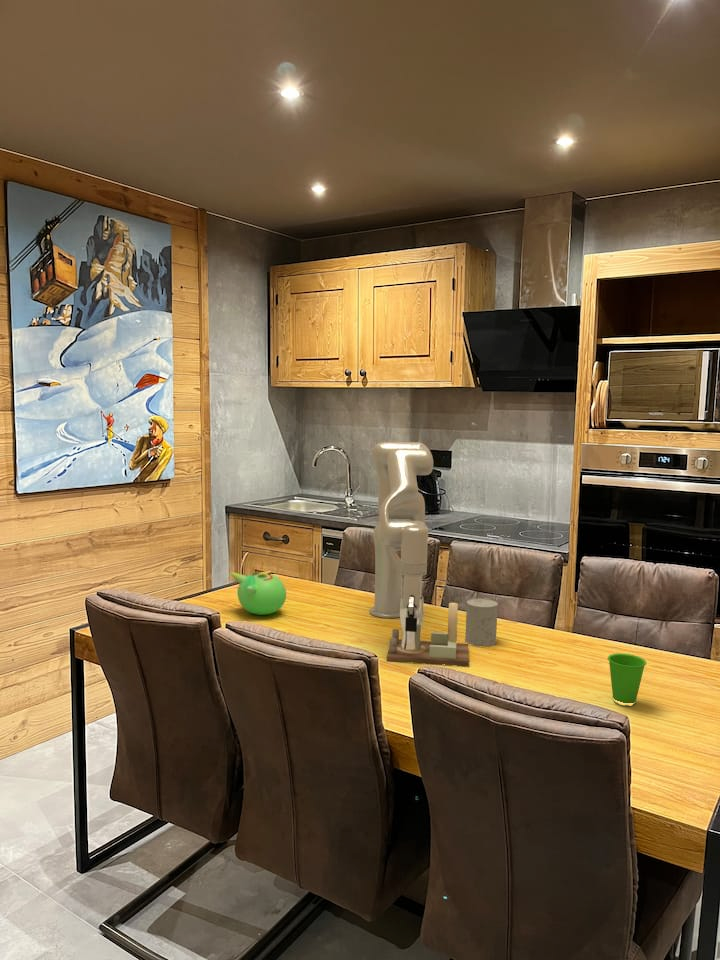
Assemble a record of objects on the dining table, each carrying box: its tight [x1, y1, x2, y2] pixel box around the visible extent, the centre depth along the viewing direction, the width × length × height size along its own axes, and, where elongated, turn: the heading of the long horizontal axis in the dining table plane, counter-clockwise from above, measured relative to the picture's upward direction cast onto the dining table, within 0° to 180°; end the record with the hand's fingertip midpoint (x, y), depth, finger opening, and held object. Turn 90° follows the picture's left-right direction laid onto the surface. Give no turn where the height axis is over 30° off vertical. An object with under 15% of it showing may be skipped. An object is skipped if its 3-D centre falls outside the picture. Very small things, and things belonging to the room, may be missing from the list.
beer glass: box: [399, 595, 425, 651], centre depth 212 cm, size 7×7×15 cm
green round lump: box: [229, 570, 287, 616], centre depth 248 cm, size 18×17×15 cm
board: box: [386, 628, 470, 667], centre depth 212 cm, size 15×23×6 cm, turn 82°
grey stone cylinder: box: [464, 597, 499, 648], centre depth 224 cm, size 10×10×12 cm
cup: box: [607, 652, 647, 703], centre depth 180 cm, size 9×9×11 cm
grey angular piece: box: [429, 602, 459, 659], centre depth 211 cm, size 13×8×14 cm, turn 172°
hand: (411, 626), depth 212 cm, fingers open, 9 cm apart
